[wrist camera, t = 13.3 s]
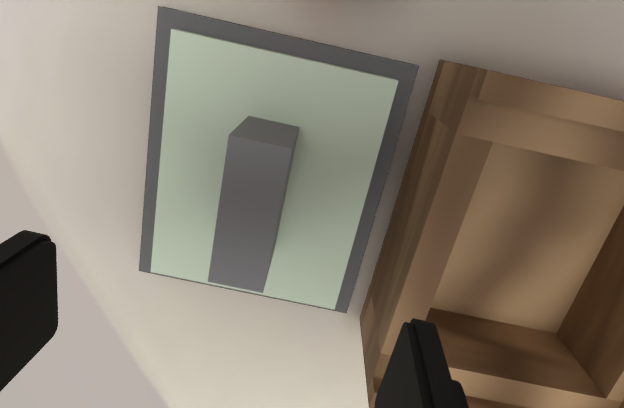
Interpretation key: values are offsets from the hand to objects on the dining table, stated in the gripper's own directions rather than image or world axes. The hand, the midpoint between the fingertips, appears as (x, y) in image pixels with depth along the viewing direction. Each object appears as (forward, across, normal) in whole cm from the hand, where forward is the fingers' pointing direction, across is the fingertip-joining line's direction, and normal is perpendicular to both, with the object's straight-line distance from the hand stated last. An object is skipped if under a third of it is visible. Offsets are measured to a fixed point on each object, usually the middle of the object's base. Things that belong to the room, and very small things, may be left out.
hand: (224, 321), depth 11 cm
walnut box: (+14, -13, +1) cm, 19 cm away
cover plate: (+13, +1, +1) cm, 13 cm away
